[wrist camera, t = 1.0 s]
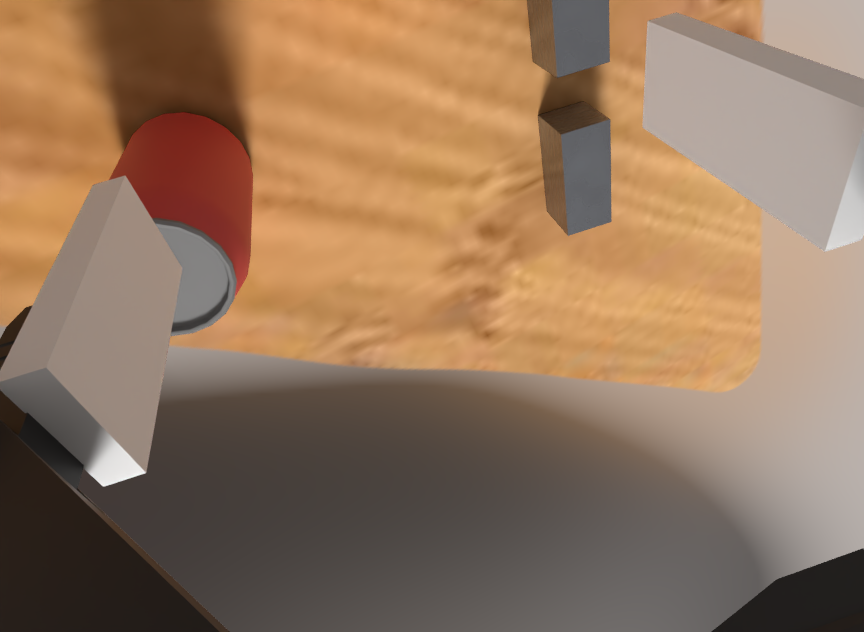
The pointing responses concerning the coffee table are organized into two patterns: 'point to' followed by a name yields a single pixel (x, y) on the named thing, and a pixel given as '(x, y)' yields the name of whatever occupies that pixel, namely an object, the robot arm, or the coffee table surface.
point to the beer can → (195, 208)
